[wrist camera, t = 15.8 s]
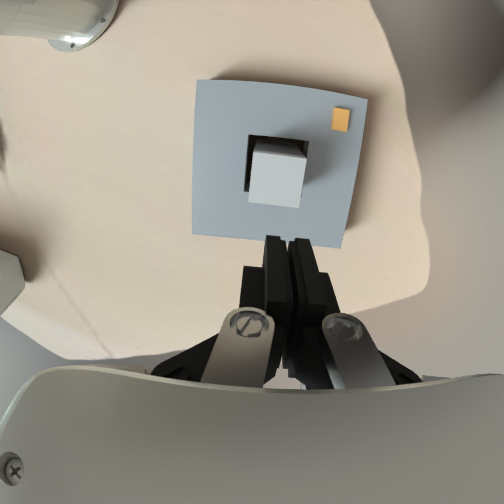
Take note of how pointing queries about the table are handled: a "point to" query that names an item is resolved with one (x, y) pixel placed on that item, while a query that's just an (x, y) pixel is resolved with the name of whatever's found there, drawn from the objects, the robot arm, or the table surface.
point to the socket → (275, 125)
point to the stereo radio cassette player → (10, 279)
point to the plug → (277, 174)
